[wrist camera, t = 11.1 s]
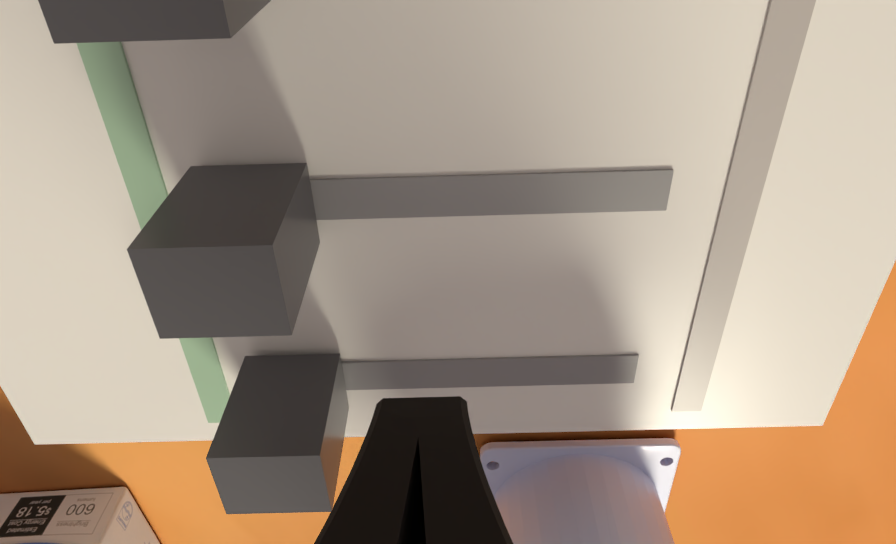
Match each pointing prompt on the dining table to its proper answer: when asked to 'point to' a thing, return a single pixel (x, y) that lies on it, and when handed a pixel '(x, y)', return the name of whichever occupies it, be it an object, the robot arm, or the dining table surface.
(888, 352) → the dining table surface
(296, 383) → the handle
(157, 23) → the handle
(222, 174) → the dark gray block
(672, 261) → the breaker board
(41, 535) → the light bulb box
